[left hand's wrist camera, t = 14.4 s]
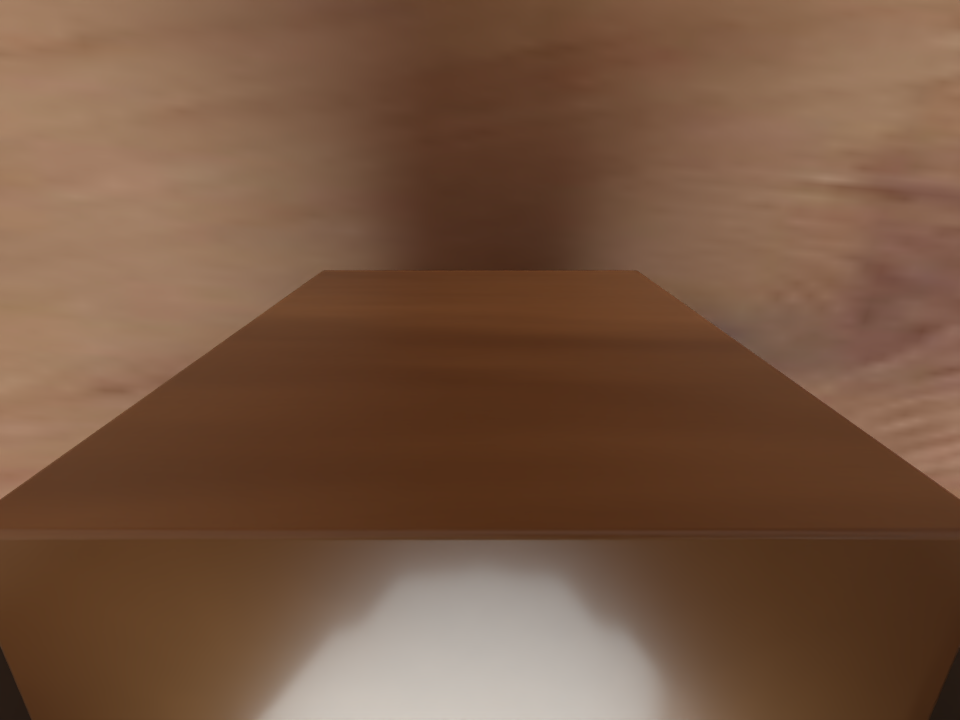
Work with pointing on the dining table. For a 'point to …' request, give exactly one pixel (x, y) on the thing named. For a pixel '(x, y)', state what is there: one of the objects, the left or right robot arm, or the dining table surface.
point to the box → (480, 524)
